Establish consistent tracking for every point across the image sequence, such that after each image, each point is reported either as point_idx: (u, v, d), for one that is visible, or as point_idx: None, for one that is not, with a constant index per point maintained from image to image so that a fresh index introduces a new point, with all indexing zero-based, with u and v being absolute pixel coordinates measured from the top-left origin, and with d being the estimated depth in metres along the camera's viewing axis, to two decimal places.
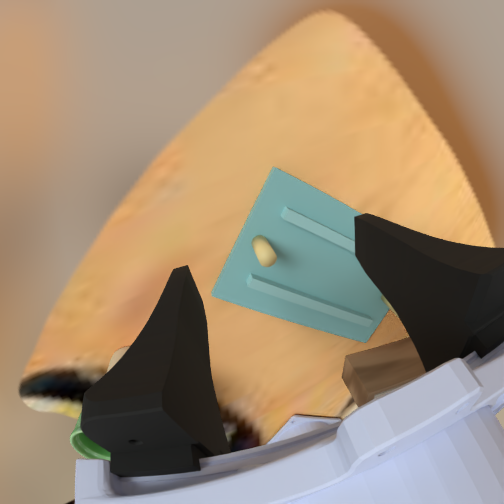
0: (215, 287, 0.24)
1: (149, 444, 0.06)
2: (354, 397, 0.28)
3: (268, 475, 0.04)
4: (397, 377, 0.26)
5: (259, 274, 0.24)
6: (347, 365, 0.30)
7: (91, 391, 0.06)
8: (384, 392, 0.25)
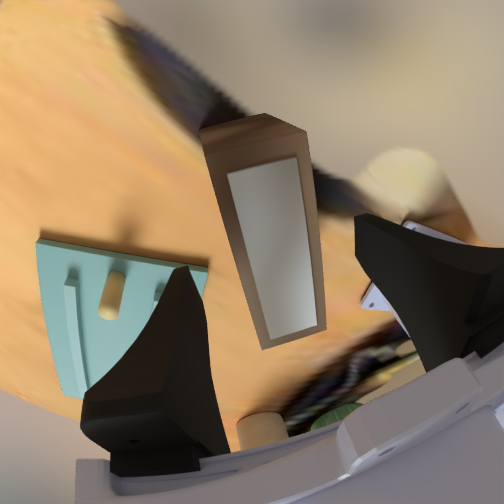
0: None
1: (149, 444, 0.06)
2: None
3: (268, 475, 0.04)
4: None
5: None
6: None
7: (91, 391, 0.05)
8: (267, 323, 0.14)
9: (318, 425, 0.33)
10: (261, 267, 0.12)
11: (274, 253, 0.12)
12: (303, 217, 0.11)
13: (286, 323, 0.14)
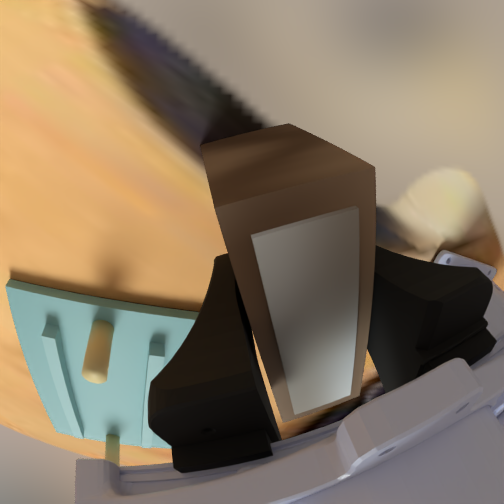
0: None
1: (222, 432, 0.06)
2: None
3: (268, 475, 0.04)
4: None
5: (139, 435, 0.20)
6: None
7: (160, 379, 0.06)
8: (293, 401, 0.10)
9: None
10: (293, 351, 0.08)
11: (312, 334, 0.08)
12: (357, 288, 0.08)
13: (315, 399, 0.10)
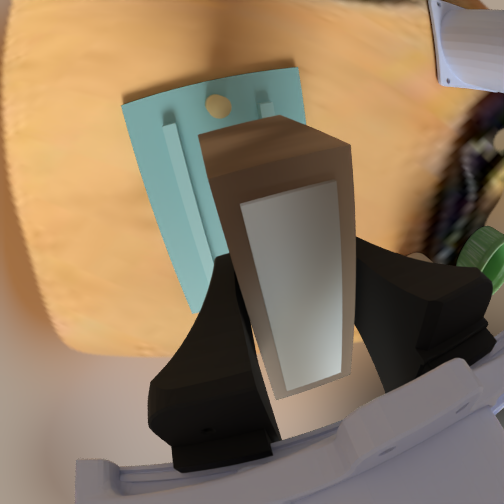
0: None
1: (222, 432, 0.06)
2: None
3: (268, 475, 0.04)
4: None
5: None
6: None
7: (159, 380, 0.06)
8: (285, 376, 0.11)
9: (462, 261, 0.29)
10: (282, 320, 0.09)
11: (299, 303, 0.09)
12: (339, 258, 0.08)
13: (307, 374, 0.11)
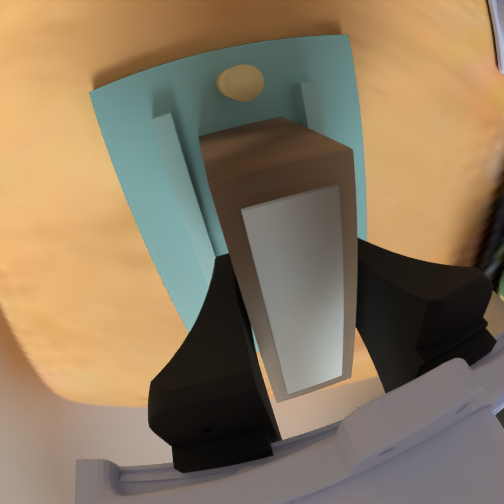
0: None
1: (223, 432, 0.06)
2: None
3: (268, 475, 0.04)
4: None
5: None
6: None
7: (160, 379, 0.06)
8: (285, 379, 0.11)
9: None
10: (283, 324, 0.09)
11: (300, 308, 0.09)
12: (341, 263, 0.08)
13: (307, 378, 0.11)
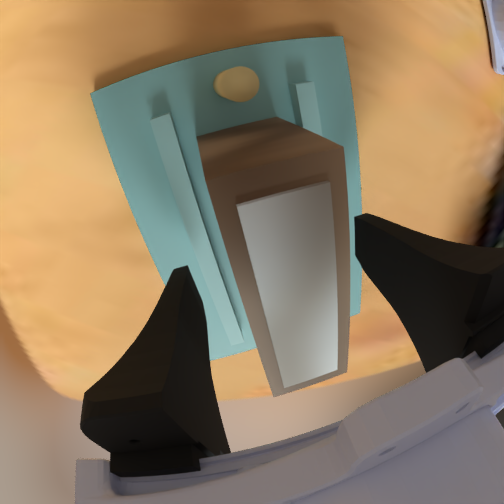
0: None
1: (149, 444, 0.06)
2: None
3: (268, 475, 0.04)
4: None
5: None
6: None
7: (91, 391, 0.06)
8: (282, 373, 0.11)
9: None
10: (278, 317, 0.09)
11: (295, 301, 0.09)
12: (333, 257, 0.09)
13: (303, 371, 0.11)
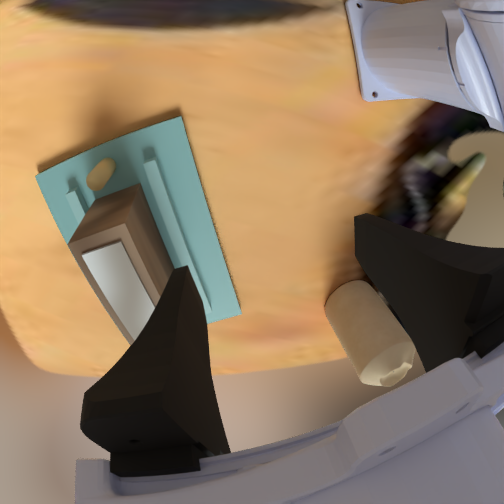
0: None
1: (149, 444, 0.06)
2: None
3: (268, 475, 0.04)
4: None
5: None
6: None
7: (91, 392, 0.05)
8: None
9: None
10: (120, 309, 0.16)
11: (125, 301, 0.16)
12: (137, 278, 0.15)
13: None
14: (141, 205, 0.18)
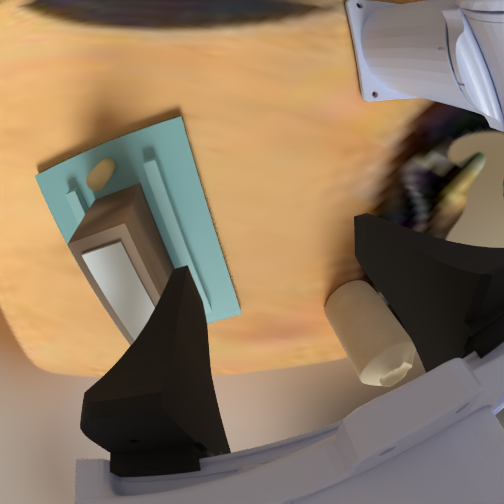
0: None
1: (149, 444, 0.06)
2: None
3: (268, 475, 0.04)
4: None
5: None
6: None
7: (91, 392, 0.05)
8: None
9: None
10: (120, 309, 0.16)
11: (125, 301, 0.16)
12: (137, 278, 0.15)
13: None
14: (141, 205, 0.18)
